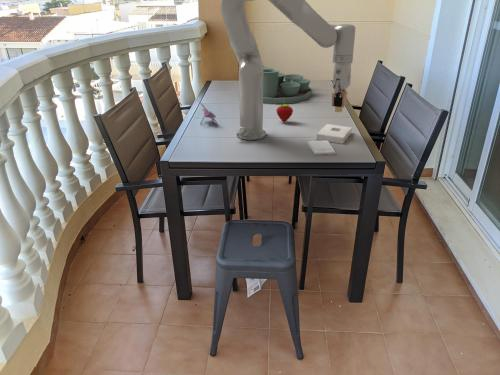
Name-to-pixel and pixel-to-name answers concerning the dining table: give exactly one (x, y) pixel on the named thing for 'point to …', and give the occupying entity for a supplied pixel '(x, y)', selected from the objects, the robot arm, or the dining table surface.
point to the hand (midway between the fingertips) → (339, 104)
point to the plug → (344, 100)
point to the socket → (334, 133)
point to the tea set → (284, 87)
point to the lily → (208, 114)
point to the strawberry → (284, 112)
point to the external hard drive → (321, 147)
